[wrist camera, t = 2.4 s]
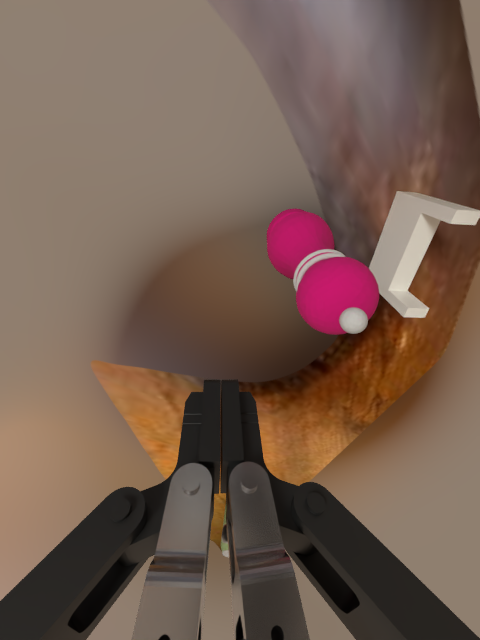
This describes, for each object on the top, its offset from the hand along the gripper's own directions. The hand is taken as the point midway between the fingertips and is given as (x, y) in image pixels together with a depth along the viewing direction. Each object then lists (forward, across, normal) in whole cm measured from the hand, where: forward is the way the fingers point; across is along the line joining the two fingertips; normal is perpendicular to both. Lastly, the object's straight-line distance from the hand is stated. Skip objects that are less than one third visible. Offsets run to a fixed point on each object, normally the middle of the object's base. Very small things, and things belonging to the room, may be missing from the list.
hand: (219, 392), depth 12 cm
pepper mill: (+26, -9, 0) cm, 27 cm away
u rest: (+25, -22, 0) cm, 33 cm away
